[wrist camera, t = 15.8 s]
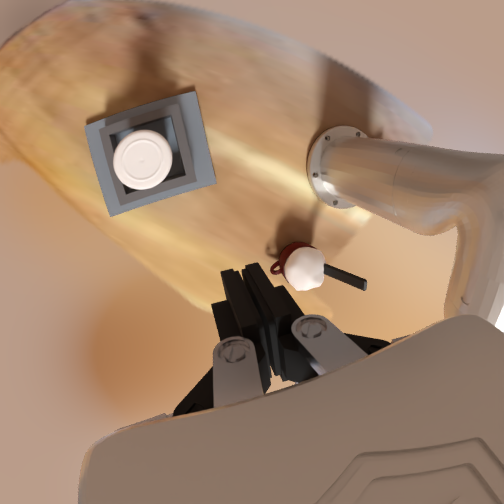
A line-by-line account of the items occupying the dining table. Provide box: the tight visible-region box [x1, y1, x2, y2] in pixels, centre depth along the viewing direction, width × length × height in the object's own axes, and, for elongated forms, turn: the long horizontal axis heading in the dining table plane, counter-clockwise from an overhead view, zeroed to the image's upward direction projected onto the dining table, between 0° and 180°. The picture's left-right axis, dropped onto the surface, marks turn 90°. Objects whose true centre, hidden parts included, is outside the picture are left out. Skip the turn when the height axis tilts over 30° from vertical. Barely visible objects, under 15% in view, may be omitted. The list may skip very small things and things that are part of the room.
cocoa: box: [270, 242, 367, 291], centre depth 38 cm, size 10×6×12 cm, turn 75°
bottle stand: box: [84, 91, 217, 217], centre depth 29 cm, size 14×12×4 cm
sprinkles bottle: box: [113, 130, 172, 190], centre depth 24 cm, size 5×5×13 cm
